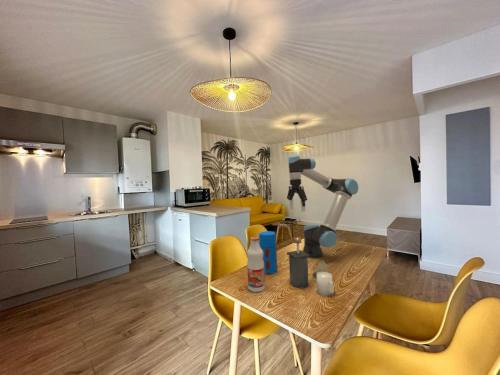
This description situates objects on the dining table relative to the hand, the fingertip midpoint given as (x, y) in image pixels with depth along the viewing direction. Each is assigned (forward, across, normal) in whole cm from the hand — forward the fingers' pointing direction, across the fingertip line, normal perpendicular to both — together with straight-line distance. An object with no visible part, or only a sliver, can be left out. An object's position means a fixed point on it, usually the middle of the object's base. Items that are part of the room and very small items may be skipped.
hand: (297, 210), depth 140 cm
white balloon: (+38, +34, -9) cm, 52 cm away
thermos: (+38, -2, -23) cm, 44 cm away
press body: (+38, +19, -15) cm, 45 cm away
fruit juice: (+37, +14, -39) cm, 56 cm away
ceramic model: (+38, +20, +1) cm, 43 cm away
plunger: (+30, +20, -15) cm, 39 cm away
